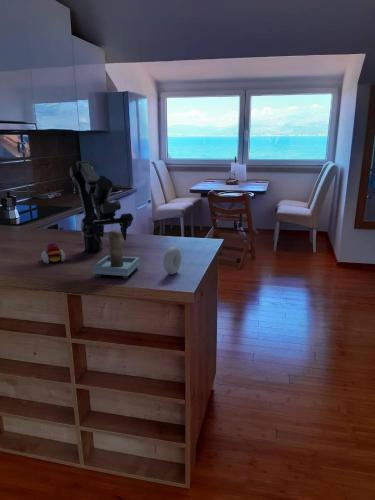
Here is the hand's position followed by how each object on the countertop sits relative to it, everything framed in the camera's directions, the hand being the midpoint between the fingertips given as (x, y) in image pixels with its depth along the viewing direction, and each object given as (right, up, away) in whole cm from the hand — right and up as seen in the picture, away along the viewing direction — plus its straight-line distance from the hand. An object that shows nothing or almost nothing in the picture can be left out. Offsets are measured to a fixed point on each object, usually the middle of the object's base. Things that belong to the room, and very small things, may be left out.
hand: (113, 241), depth 140 cm
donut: (+22, -12, 0) cm, 25 cm away
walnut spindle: (+1, -9, 0) cm, 9 cm away
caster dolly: (+1, -11, +1) cm, 11 cm away
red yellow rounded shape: (-27, -8, +15) cm, 32 cm away
